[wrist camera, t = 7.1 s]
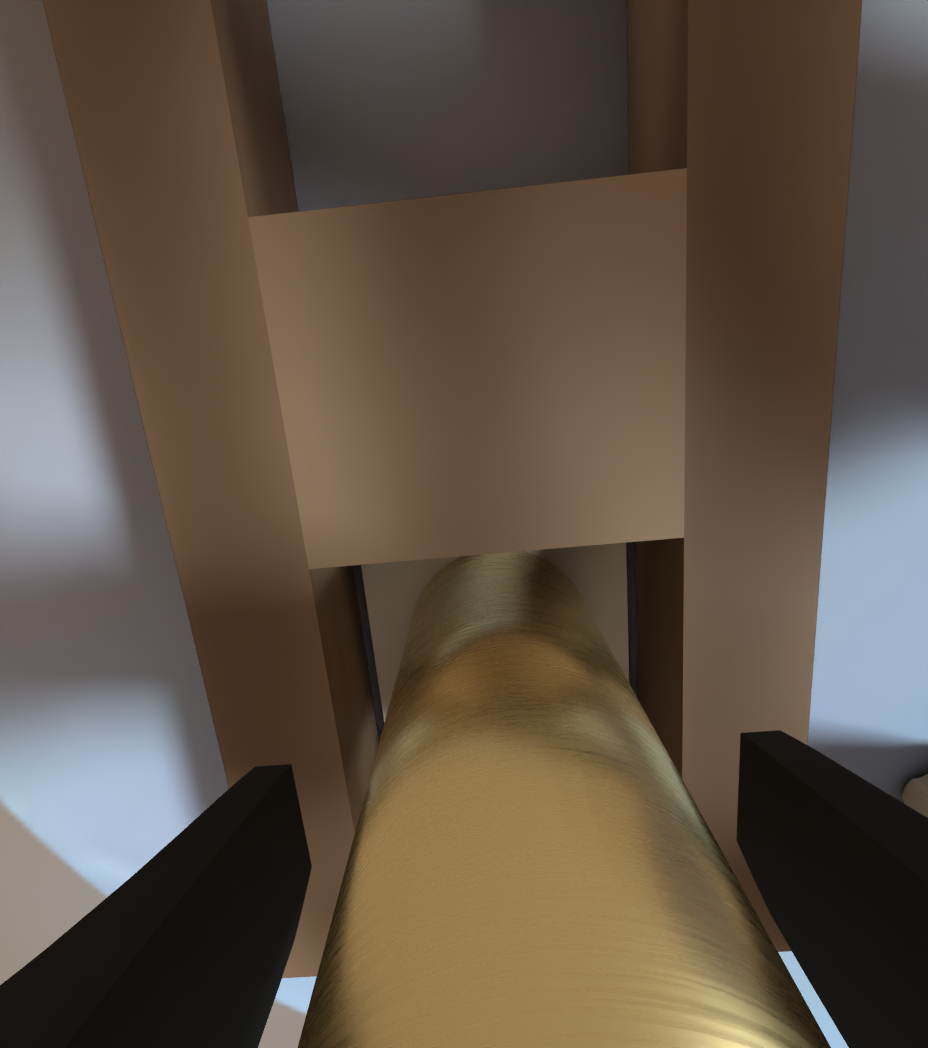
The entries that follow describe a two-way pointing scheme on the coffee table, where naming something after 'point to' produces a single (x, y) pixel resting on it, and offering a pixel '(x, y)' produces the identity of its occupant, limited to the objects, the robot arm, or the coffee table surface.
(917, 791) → the handle
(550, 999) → the peg
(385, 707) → the mount block
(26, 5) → the coffee table surface
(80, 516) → the coffee table surface
